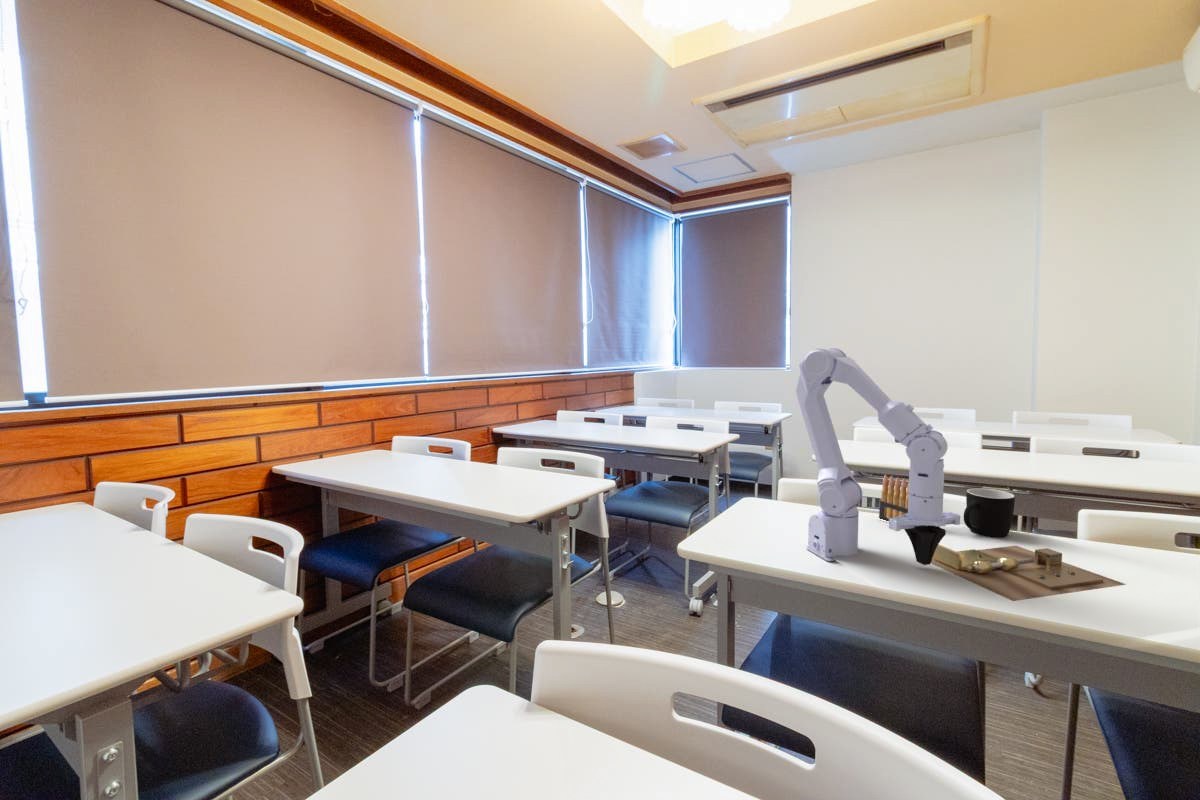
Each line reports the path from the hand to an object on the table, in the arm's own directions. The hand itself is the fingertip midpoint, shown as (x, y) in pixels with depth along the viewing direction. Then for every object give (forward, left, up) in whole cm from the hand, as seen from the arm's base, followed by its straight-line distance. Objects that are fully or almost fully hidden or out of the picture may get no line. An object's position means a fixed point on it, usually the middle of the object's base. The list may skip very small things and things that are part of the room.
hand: (923, 562), depth 103 cm
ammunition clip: (+17, +25, -2) cm, 30 cm away
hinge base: (+20, -9, -1) cm, 21 cm away
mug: (+29, +13, -2) cm, 32 cm away
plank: (+16, -5, -2) cm, 17 cm away
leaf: (+13, -1, -1) cm, 13 cm away
